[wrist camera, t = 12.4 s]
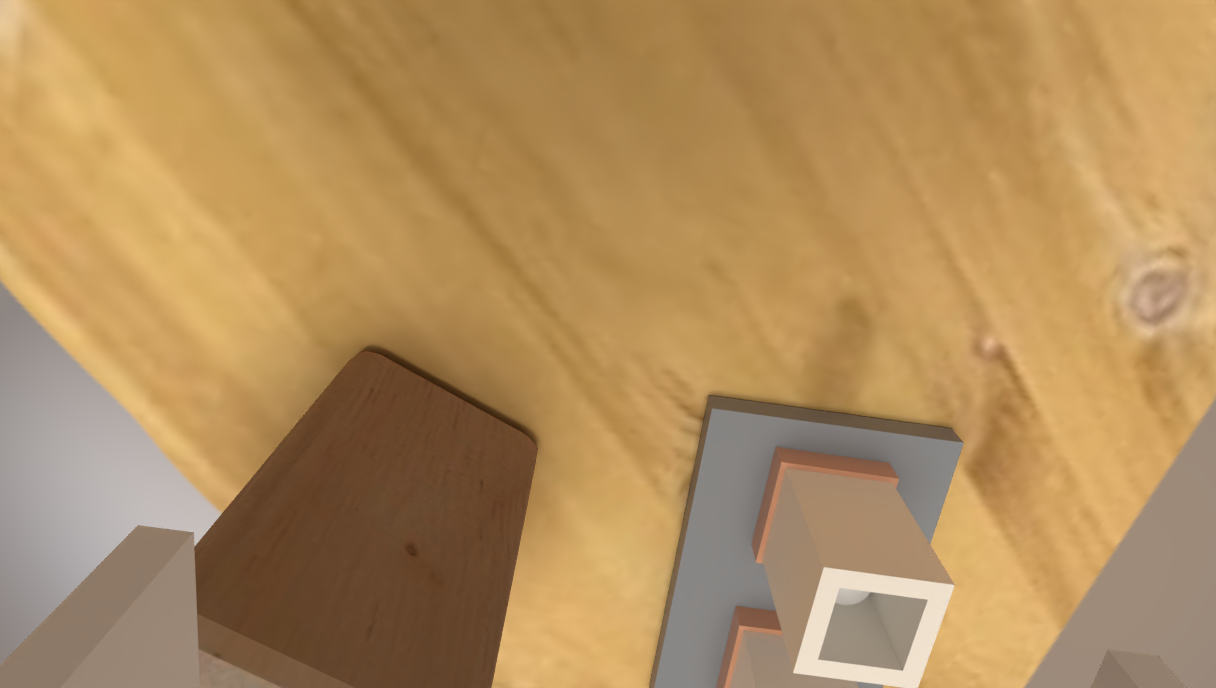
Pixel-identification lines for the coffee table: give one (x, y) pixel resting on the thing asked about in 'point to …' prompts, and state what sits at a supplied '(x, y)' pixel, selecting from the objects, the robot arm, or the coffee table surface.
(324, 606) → the wooden block
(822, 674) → the sleeve
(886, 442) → the pin board
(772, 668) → the sleeve
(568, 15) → the coffee table surface
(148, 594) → the robot arm
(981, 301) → the coffee table surface
